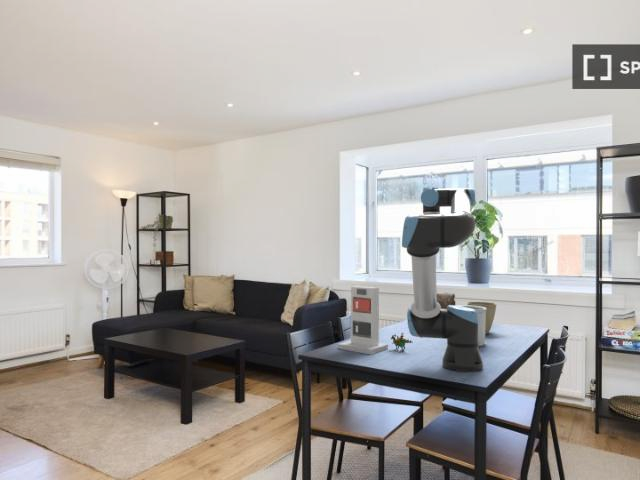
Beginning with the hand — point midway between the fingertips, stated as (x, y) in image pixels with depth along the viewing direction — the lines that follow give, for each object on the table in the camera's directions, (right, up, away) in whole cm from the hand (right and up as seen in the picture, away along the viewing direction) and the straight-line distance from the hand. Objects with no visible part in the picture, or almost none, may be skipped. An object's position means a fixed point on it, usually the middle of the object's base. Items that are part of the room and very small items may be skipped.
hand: (431, 274), depth 203 cm
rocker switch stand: (-31, -34, +3) cm, 46 cm away
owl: (+20, -35, +55) cm, 68 cm away
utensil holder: (+23, -35, +16) cm, 45 cm away
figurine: (-13, -35, 0) cm, 37 cm away
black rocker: (-31, -28, +3) cm, 42 cm away
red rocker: (-31, -17, +3) cm, 35 cm away
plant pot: (+39, -35, +44) cm, 68 cm away
